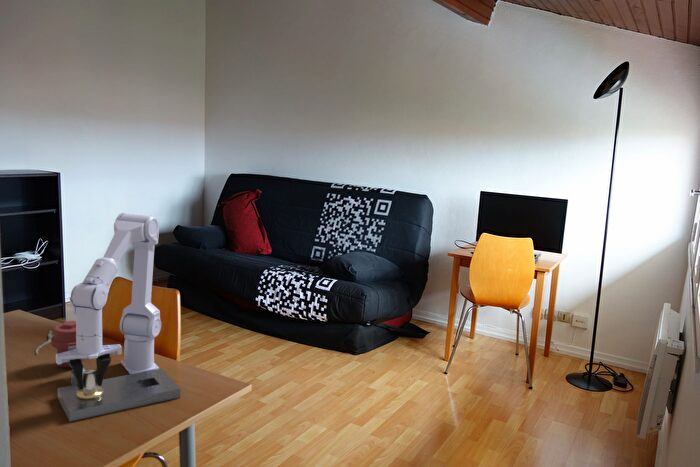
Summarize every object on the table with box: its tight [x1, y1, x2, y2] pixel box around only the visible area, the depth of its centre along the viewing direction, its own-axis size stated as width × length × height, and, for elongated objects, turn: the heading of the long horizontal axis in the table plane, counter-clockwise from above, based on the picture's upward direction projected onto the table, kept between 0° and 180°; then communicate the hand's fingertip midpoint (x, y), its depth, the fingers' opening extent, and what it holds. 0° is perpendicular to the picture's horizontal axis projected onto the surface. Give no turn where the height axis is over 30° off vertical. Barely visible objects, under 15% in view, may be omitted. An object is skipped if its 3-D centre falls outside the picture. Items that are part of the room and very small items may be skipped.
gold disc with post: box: [77, 369, 103, 400], centre depth 144 cm, size 6×6×8 cm
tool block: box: [56, 368, 181, 423], centre depth 152 cm, size 21×26×3 cm
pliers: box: [34, 329, 54, 356], centre depth 181 cm, size 10×1×20 cm
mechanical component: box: [50, 320, 86, 368], centre depth 165 cm, size 12×10×10 cm
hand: (90, 386), depth 144 cm, fingers open, 4 cm apart
